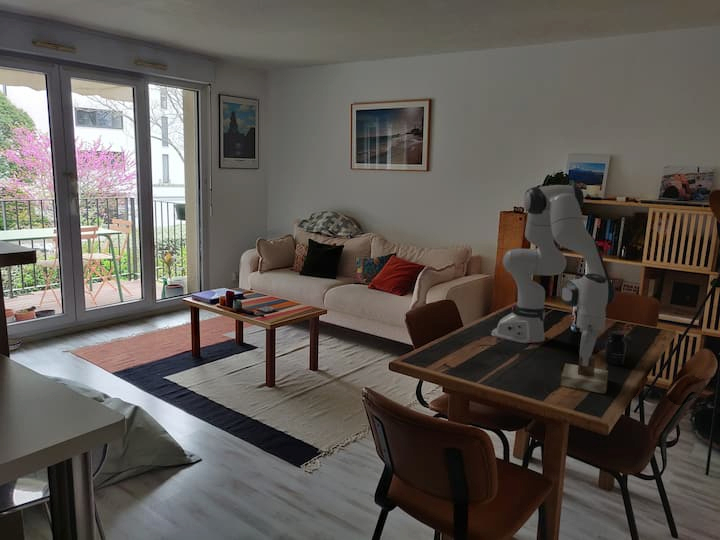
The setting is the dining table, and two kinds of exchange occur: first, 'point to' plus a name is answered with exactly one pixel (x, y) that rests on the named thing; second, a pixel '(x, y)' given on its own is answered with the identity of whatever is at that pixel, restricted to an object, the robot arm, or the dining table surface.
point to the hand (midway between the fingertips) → (586, 361)
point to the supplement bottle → (615, 349)
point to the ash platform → (584, 379)
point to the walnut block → (587, 369)
